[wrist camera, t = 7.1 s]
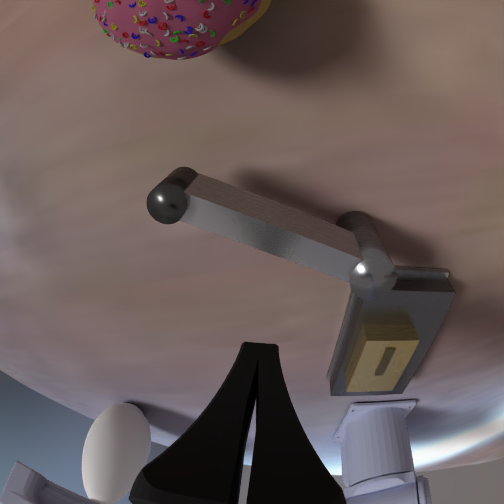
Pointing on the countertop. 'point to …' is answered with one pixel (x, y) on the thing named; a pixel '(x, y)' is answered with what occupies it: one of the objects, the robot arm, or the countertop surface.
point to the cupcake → (176, 24)
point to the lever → (278, 229)
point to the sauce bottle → (115, 452)
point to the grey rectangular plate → (394, 321)
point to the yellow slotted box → (380, 357)
